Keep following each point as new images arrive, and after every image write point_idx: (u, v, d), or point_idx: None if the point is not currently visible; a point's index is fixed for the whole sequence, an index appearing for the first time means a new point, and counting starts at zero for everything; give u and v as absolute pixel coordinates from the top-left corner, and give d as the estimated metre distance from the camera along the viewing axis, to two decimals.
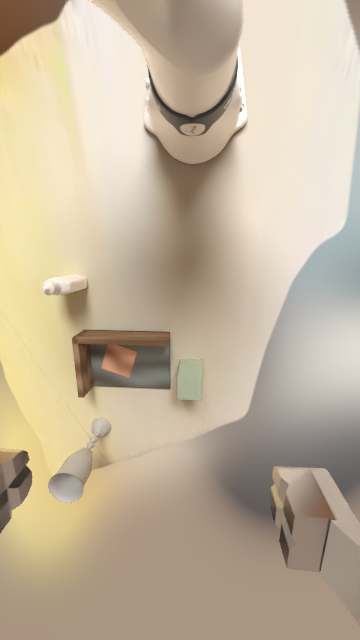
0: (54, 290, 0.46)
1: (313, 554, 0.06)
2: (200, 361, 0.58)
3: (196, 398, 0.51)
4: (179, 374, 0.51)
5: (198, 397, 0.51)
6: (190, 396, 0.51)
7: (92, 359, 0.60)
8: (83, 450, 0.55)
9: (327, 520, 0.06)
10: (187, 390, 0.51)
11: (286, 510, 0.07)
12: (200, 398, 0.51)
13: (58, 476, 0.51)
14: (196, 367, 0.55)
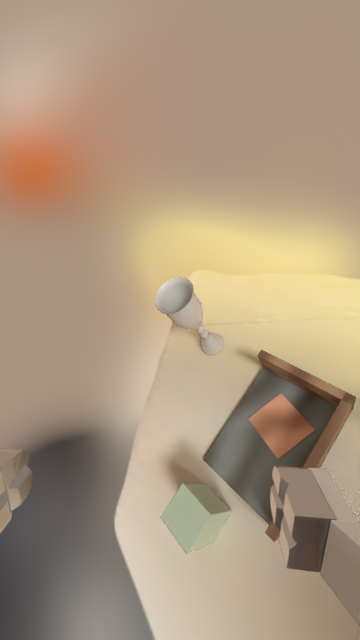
0: None
1: (313, 554, 0.06)
2: (211, 541, 0.36)
3: (166, 512, 0.33)
4: (212, 517, 0.32)
5: (166, 516, 0.33)
6: (174, 506, 0.33)
7: (300, 389, 0.41)
8: (199, 324, 0.44)
9: (327, 520, 0.06)
10: (183, 510, 0.32)
11: (286, 510, 0.07)
12: (163, 518, 0.33)
13: (190, 290, 0.43)
14: (206, 539, 0.34)
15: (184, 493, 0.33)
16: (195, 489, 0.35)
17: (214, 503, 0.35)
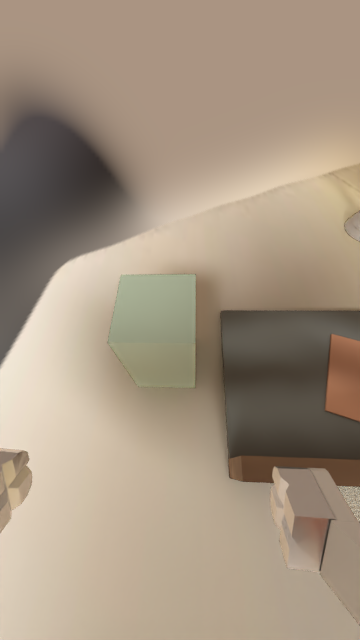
0: None
1: (313, 554, 0.06)
2: (139, 383, 0.21)
3: (135, 279, 0.17)
4: (189, 351, 0.15)
5: (129, 282, 0.17)
6: (152, 283, 0.16)
7: None
8: None
9: (327, 520, 0.06)
10: (160, 300, 0.16)
11: (286, 510, 0.07)
12: (123, 279, 0.17)
13: None
14: (142, 370, 0.18)
15: (184, 285, 0.16)
16: None
17: None
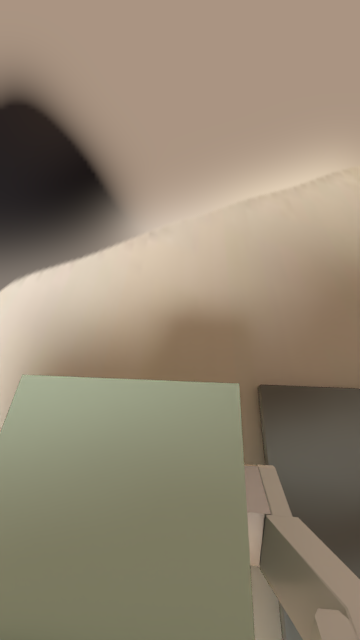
0: None
1: (252, 548, 0.06)
2: None
3: (61, 393, 0.06)
4: None
5: (40, 403, 0.06)
6: (108, 413, 0.05)
7: None
8: None
9: (263, 515, 0.06)
10: (126, 489, 0.05)
11: None
12: (26, 393, 0.06)
13: None
14: None
15: (205, 428, 0.05)
16: None
17: None
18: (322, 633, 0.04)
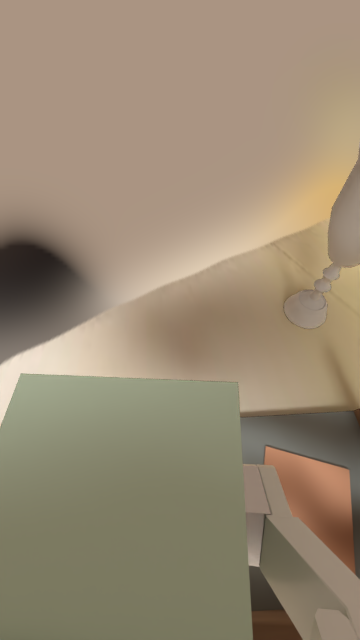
0: None
1: (252, 549, 0.06)
2: None
3: (59, 392, 0.06)
4: None
5: (39, 402, 0.06)
6: (106, 412, 0.05)
7: None
8: (359, 260, 0.21)
9: (263, 515, 0.06)
10: (125, 488, 0.05)
11: None
12: (25, 392, 0.06)
13: None
14: None
15: (204, 426, 0.05)
16: None
17: None
18: (322, 633, 0.04)
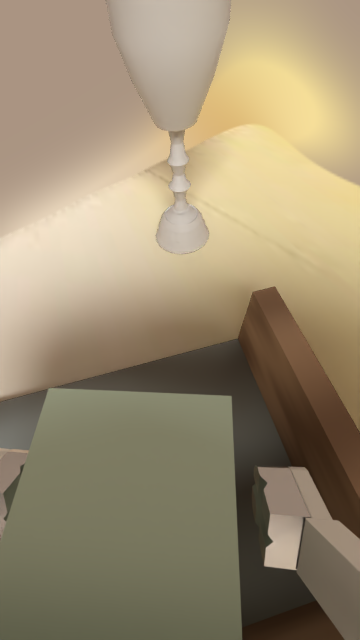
0: None
1: (289, 552, 0.06)
2: None
3: (82, 404, 0.07)
4: None
5: (65, 412, 0.07)
6: (122, 421, 0.06)
7: (279, 447, 0.14)
8: (177, 102, 0.14)
9: (302, 518, 0.06)
10: (139, 484, 0.06)
11: (263, 508, 0.07)
12: (53, 404, 0.07)
13: None
14: None
15: (203, 433, 0.06)
16: None
17: None
18: None
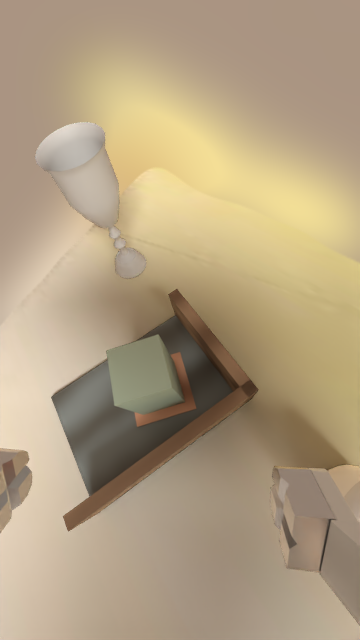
0: None
1: (313, 554, 0.06)
2: (144, 413, 0.28)
3: (118, 350, 0.23)
4: (170, 391, 0.22)
5: (114, 354, 0.23)
6: (130, 351, 0.23)
7: (204, 356, 0.31)
8: (107, 220, 0.29)
9: (327, 520, 0.06)
10: (140, 362, 0.22)
11: (286, 510, 0.07)
12: (109, 354, 0.23)
13: None
14: (142, 407, 0.25)
15: (153, 346, 0.23)
16: (166, 353, 0.25)
17: (176, 381, 0.26)
18: None
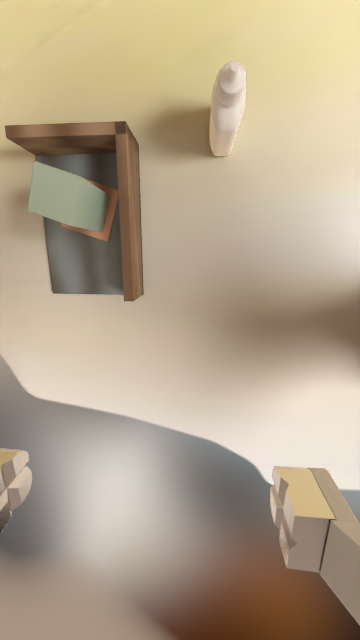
0: (227, 94, 0.23)
1: (313, 554, 0.06)
2: (100, 229, 0.35)
3: (32, 201, 0.27)
4: (84, 183, 0.27)
5: (33, 206, 0.27)
6: (37, 191, 0.27)
7: (85, 156, 0.34)
8: None
9: (327, 520, 0.06)
10: (50, 189, 0.27)
11: (286, 510, 0.07)
12: (31, 209, 0.27)
13: None
14: (91, 220, 0.32)
15: (42, 171, 0.26)
16: None
17: None
18: None
